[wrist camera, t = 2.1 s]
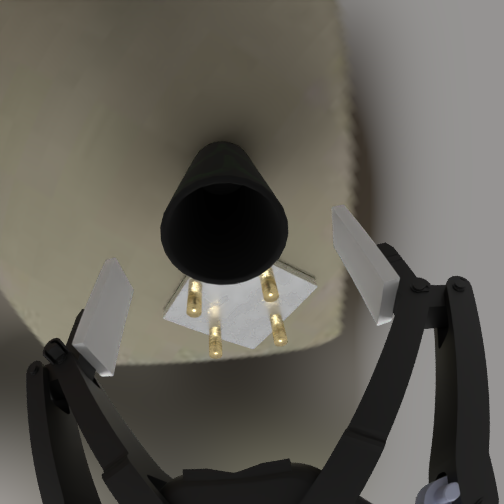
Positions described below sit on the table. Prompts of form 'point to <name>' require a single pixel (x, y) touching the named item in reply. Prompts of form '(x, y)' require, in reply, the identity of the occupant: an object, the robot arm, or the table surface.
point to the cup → (223, 219)
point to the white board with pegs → (241, 307)
